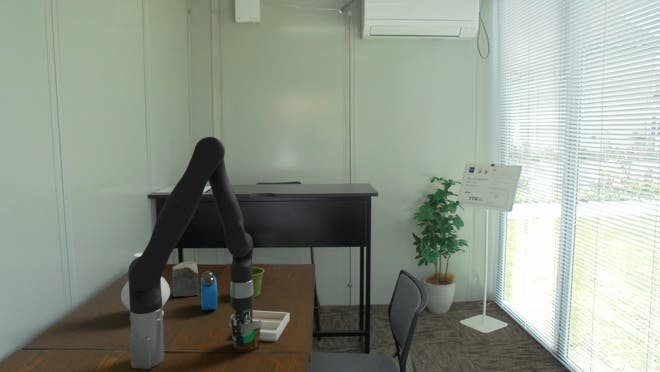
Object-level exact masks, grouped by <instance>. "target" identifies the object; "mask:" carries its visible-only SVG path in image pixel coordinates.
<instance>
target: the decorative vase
mask: <svg viewBox="0 0 660 372" xmlns="http://www.w3.org/2000/svg"><path fill="white" fill-rule="evenodd" d="M143 252H144V251H142V252H138V253H137V252H136V253H135V254H133V258H134V259H136V258H137V257H140V256H141V255H142V254H143ZM161 294H162V308H163V307H164V305H165V304H166V303H167V301H168V300H169V298H170V296H171V295H170V294H171V289H170V285H169V283H168V282H167V280H166V279H165V278H164V277H163V276H162V277H161ZM120 299H121V300H120V301H121V303H122V304H123V305H124V307H126V309H127V310H128V311H130V301H129V279H128V280H127V281H126V282H125V284H124V286H123V288H122V290H121V293H120ZM164 314H165V312H164V310H163V309H162V317H163V316H164Z"/></svg>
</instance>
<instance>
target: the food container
mask: <svg viewBox="0 0 660 372" xmlns="http://www.w3.org/2000/svg"><path fill="white" fill-rule="evenodd" d="M232 319H235V313H233V314H231V315H230V318H229V321H228V326H229V328H230V329H231V338H232V345H233V349H234V351H237V352H240V353H249V352H254V351H256V350H258V349H260V343H261V342H260V341H261V340H260V327H261V326H262V322H261V320H259V321H257V322H256V321H252V320H250V319H247V321H246V324H240V326H241V330H243V346H242V347H237V346H236V336H233V333H232V323H231V321H232Z"/></svg>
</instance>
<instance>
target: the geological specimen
mask: <svg viewBox="0 0 660 372" xmlns="http://www.w3.org/2000/svg"><path fill="white" fill-rule="evenodd" d="M171 269H172V296H173V297H174V298H175V297H184V298H185V297H193V296H199V295H200V291H199V290H200V288H199V271H198V264H197V260H196V261H194V260H190V261H187V260H186V261H181V262H179V263H177V264H176V265H173V266H172V267H171Z"/></svg>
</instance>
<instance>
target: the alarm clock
mask: <svg viewBox="0 0 660 372" xmlns="http://www.w3.org/2000/svg"><path fill="white" fill-rule="evenodd" d="M199 290H200V291H199V294H200V303H201V306H200V307H201V310H202V311H206V310H207V311H208V310H214V312H215V311H216V309H217V308H218V284H217V278H216V276H215V275H214V273H213V271H210V270H206V271H204V272H202V274H201V278H200V288H199Z"/></svg>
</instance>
